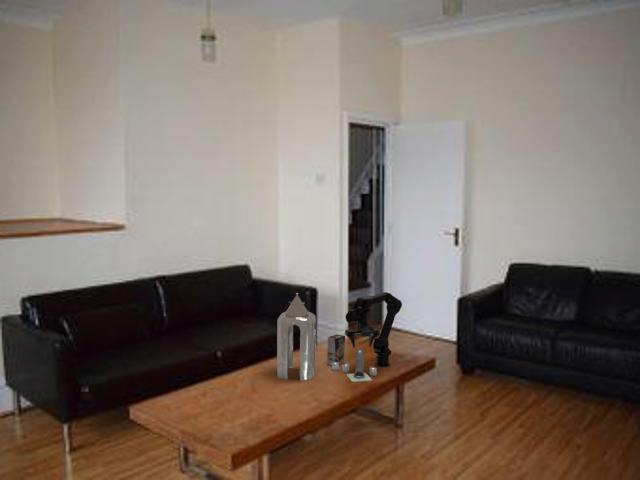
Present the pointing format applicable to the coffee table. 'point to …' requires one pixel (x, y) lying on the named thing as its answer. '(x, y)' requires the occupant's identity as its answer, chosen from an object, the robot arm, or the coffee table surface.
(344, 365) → the cylinder
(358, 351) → the standoff
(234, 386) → the coffee table surface
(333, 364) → the cylinder
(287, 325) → the grey metal tall arch
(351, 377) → the pad
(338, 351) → the coffee box
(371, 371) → the cylinder
